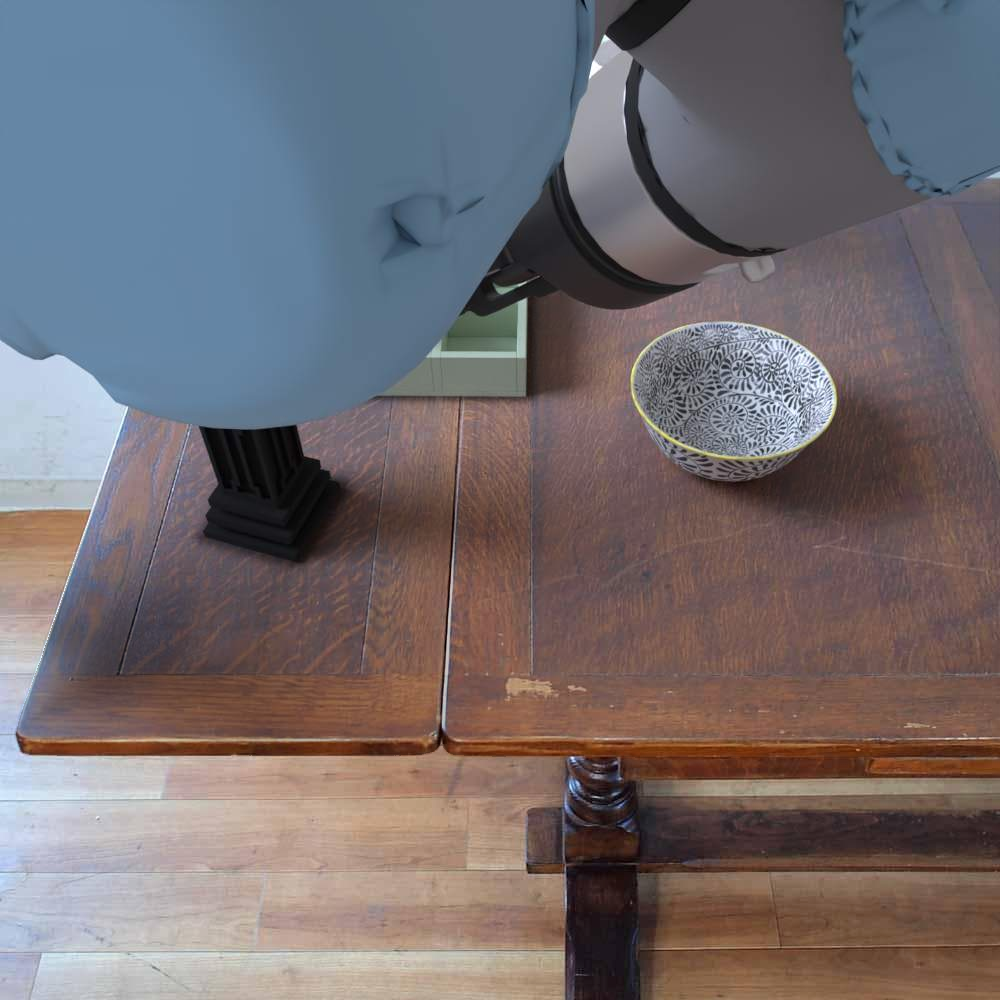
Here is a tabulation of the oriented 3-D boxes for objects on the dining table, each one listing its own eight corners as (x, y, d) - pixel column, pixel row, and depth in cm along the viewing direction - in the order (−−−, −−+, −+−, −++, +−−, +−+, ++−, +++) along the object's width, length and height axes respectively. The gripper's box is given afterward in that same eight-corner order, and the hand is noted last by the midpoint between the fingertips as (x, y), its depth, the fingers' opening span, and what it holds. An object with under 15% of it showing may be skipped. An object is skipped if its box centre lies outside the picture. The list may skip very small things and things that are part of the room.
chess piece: (296, 562, 80) (242, 369, 64) (205, 537, 81) (132, 343, 66) (340, 488, 85) (299, 292, 69) (253, 466, 86) (195, 270, 71)
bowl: (667, 364, 94) (677, 297, 88) (840, 421, 88) (862, 354, 83) (593, 480, 85) (597, 415, 79) (780, 551, 79) (800, 487, 74)
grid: (352, 395, 92) (345, 356, 88) (371, 287, 102) (365, 248, 98) (526, 396, 91) (526, 357, 88) (527, 287, 101) (527, 248, 98)
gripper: (374, 438, 30) (256, 470, 50) (956, 162, 39) (659, 283, 58) (260, 193, 29) (185, 326, 48) (886, -34, 37) (607, 156, 57)
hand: (444, 302), depth 53 cm, fingers open, 13 cm apart
